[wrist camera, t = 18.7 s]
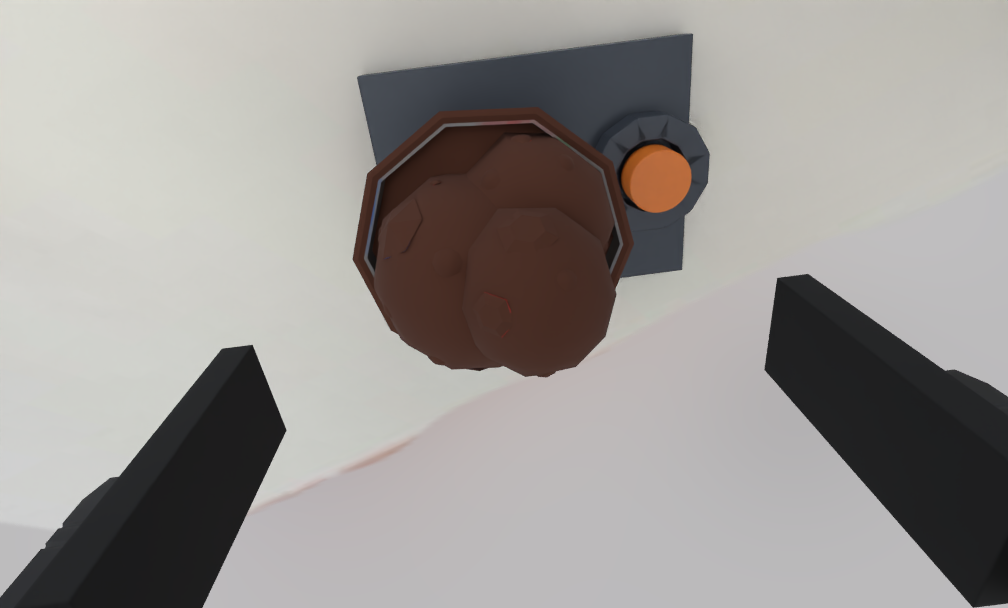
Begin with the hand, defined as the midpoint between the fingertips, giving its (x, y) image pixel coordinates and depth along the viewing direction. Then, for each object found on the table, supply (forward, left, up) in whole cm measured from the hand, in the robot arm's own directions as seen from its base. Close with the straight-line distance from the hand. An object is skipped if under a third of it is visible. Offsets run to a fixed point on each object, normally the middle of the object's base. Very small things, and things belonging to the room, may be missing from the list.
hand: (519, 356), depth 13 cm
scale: (-3, 0, -19) cm, 19 cm away
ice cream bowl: (0, 0, -18) cm, 18 cm away
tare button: (-9, 0, -16) cm, 18 cm away
